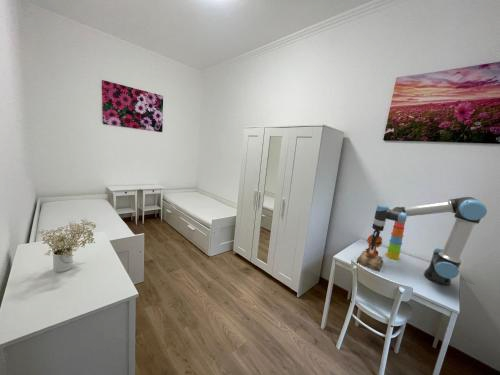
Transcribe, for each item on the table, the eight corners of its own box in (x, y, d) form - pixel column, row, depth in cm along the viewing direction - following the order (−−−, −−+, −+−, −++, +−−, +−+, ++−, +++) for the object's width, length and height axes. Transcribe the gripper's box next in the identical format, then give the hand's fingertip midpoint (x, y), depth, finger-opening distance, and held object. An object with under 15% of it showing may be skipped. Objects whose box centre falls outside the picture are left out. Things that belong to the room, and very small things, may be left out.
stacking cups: (400, 261, 181) (410, 222, 174) (386, 257, 185) (395, 219, 178) (398, 255, 190) (407, 219, 183) (384, 252, 195) (393, 216, 187)
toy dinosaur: (381, 259, 165) (386, 238, 161) (366, 257, 167) (371, 235, 163) (376, 252, 176) (381, 232, 172) (362, 250, 178) (366, 230, 174)
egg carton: (382, 263, 174) (384, 257, 173) (379, 271, 162) (380, 264, 161) (361, 256, 184) (362, 249, 183) (356, 262, 172) (357, 256, 170)
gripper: (375, 219, 177) (370, 244, 181) (370, 226, 160) (364, 253, 164) (386, 222, 172) (380, 248, 177) (381, 229, 155) (375, 257, 160)
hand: (372, 250), depth 171 cm, fingers closed on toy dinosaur, 10 cm apart
